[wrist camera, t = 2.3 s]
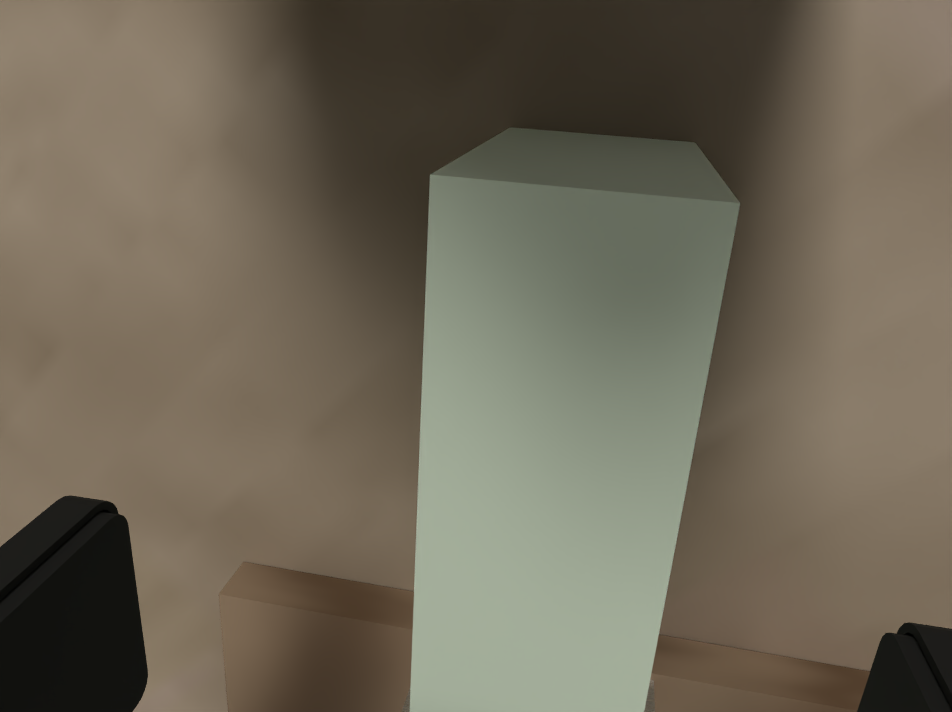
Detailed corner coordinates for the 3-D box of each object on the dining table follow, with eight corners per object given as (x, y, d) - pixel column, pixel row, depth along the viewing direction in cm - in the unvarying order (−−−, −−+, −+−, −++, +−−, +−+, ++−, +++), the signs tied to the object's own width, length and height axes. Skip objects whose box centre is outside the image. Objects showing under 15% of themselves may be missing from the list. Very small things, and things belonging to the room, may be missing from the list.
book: (694, 141, 17) (740, 202, 10) (626, 564, 21) (623, 818, 14) (510, 127, 17) (430, 174, 10) (479, 540, 21) (407, 772, 14)
